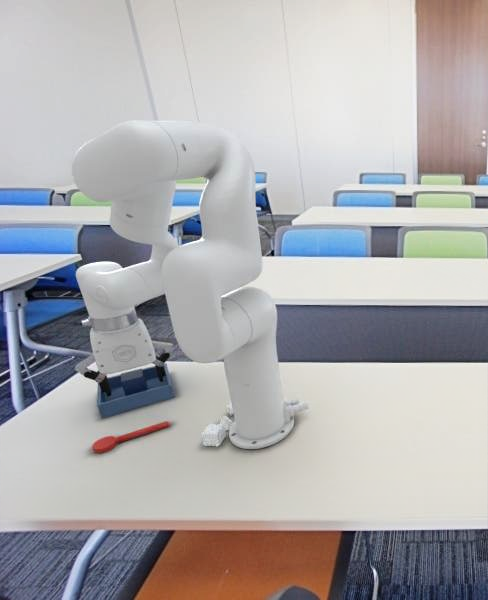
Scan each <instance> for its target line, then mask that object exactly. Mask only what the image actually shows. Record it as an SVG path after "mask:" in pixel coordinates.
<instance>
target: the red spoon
mask: <svg viewBox="0 0 488 600" xmlns="http://www.w3.org/2000/svg"><path fill="white" fill-rule="evenodd" d="M169 426H170V422H169V421H163V422H159V423H157V424H153V425H150V426H147V427H144V428H141V429H137V430H134V431H131V432H128V433H125V434H122V435H119V436H113V435H109V436H104V437H101V438H99V439H97V440H96V441H95V442H94V443H93V444H92V446H91V447H92V450H93V452H94V453H95V454H101V453H103V454H104V453H107V452H109V451H111V450H113V449H114V448H116V446H117V444H120V443H123V442H125V441H128V440H129V441H130V440H131V439H135V438H138V437H140V436H144V435H146V434H150V433H152V432H156V431H159V430H162V429H165V428H168V427H169Z"/></svg>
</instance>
